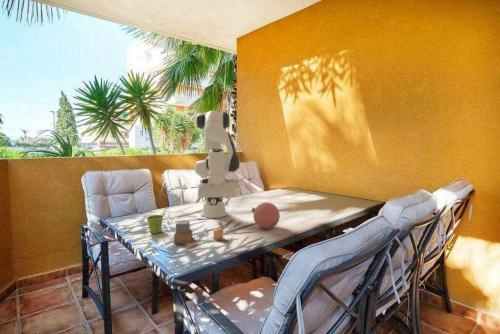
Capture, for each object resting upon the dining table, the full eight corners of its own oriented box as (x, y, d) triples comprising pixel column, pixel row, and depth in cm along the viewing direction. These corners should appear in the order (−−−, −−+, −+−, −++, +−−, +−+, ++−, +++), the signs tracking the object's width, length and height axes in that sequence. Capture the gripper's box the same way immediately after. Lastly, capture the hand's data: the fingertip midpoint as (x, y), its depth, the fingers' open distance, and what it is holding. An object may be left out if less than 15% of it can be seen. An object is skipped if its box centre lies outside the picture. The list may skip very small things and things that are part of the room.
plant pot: (146, 235, 161) (145, 219, 161) (147, 230, 170) (146, 215, 170) (164, 233, 164) (163, 218, 163) (164, 228, 173) (163, 214, 172)
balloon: (262, 221, 186) (262, 198, 185) (285, 228, 170) (285, 203, 169) (243, 226, 176) (243, 201, 175) (265, 234, 161) (265, 206, 160)
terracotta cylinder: (214, 237, 157) (213, 228, 157) (223, 236, 157) (223, 227, 157) (213, 240, 152) (213, 230, 152) (222, 240, 152) (222, 230, 152)
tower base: (177, 238, 156) (177, 229, 155) (192, 238, 156) (192, 229, 156) (174, 243, 148) (173, 234, 147) (190, 243, 148) (189, 233, 148)
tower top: (178, 230, 154) (178, 220, 154) (189, 229, 154) (189, 220, 154) (176, 233, 148) (175, 224, 148) (188, 233, 148) (187, 223, 148)
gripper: (237, 178, 155) (237, 203, 156) (198, 178, 154) (199, 204, 156) (237, 179, 149) (237, 206, 150) (196, 180, 148) (197, 207, 149)
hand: (217, 205), depth 153 cm, fingers open, 8 cm apart
